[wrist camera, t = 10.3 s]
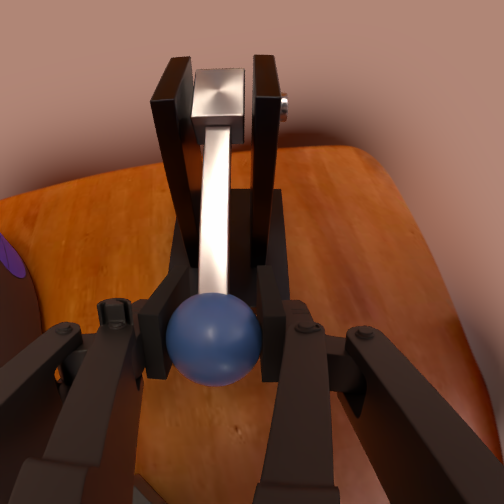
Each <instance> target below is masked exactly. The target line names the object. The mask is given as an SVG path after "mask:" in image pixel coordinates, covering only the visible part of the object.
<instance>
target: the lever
mask: <svg viewBox="0 0 504 504" xmlns="http://www.w3.org/2000/svg"><path fill="white" fill-rule="evenodd" d="M244 108H245V70H244V69H243V68H229V69H227V68H226V69H200V70H196V74H195V81H194V89H193V97H192V105H191V114H190V118H191V122H192V126H193V129H194V133H195V137H196V141H197V144H198V145H202V144H203V145H204V150H203V151H204V152H203V166H202V184H201V204H200V229H199V262H198V294H196V295H194V296H191V297H189V298H188V299H186V300H185V301H184V302H182V303H181V304H180V305H179V306H178V307H177V308H176V310H175V311H174V313H173V314H172V316H171V318H170V320H169V323H168V326H167V330H166V346H167V351H168V354H169V357H170V359H171V361H172V363H173V364H174V366H175V367H176V368H177V369H178V371H179V372H180V373H181V374H183V375H184V376H185V377H186V378H188V379H189V380H191V381H193V382H195V383H198V384H201V385H205V386H212V387H216V386H225V385H229V384H232V383H234V382H236V381H238V380H240V379H242V378H243V377H244V376H246V375H247V374H248V373H249V372H250V371H251V370H252V369H253V367H254V366H255V364H256V362H257V360H258V359H259V356H260V353H261V348H262V331H261V326H260V323H259V321H258V319H257V317H256V315H255V313H254V312H253V310H252V309H251V308H250V307H249V306H248V305H247V304H246V303H245V302H244V301H242V300H241V299H239V298H237V297H235V296H233V295H231V294H229V262H230V191H231V148H232V146H231V144H243V143H244V114H245V113H244V112H245V109H244Z"/></svg>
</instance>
